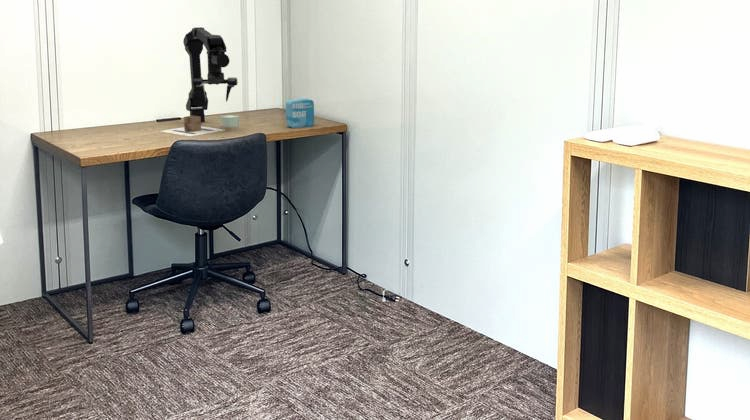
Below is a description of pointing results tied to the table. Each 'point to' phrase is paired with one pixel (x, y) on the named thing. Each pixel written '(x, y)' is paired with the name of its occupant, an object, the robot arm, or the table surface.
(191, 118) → the walnut block
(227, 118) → the sage cube
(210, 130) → the board
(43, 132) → the table surface
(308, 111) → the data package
